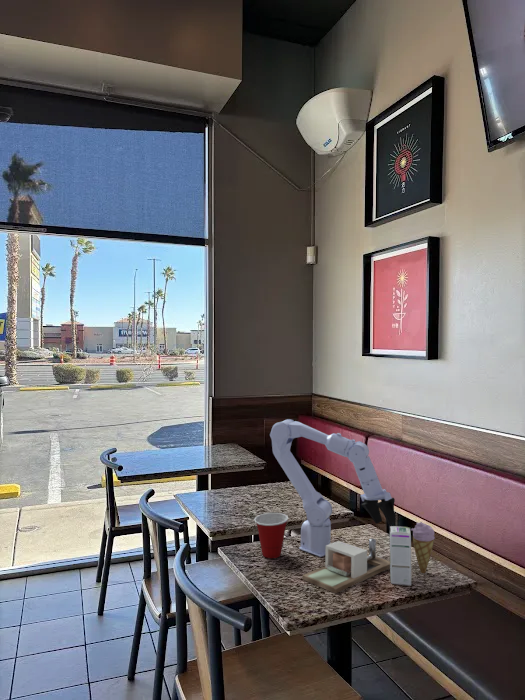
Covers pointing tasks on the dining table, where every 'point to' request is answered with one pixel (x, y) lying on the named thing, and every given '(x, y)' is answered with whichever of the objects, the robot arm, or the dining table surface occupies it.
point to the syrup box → (400, 555)
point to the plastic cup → (271, 533)
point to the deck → (340, 582)
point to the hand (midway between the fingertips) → (385, 522)
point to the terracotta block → (341, 561)
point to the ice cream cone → (423, 544)
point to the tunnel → (354, 552)
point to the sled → (371, 555)
